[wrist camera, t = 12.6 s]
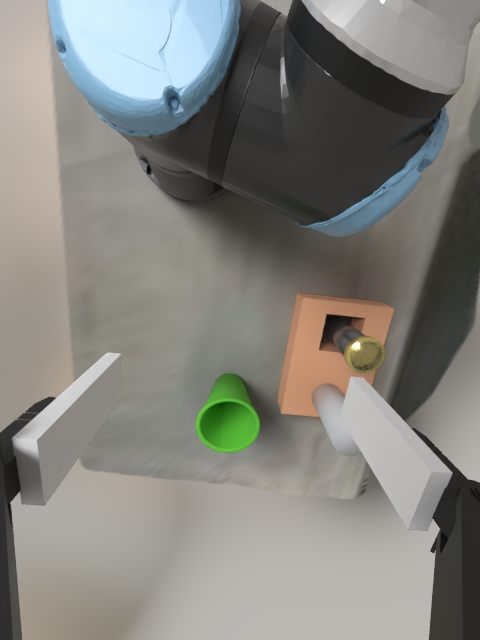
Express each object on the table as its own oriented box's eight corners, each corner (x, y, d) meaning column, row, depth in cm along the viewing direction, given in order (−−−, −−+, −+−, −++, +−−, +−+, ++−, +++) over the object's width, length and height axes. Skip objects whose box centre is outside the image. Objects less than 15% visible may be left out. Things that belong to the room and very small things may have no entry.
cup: (261, 370, 47) (269, 408, 36) (245, 412, 49) (248, 459, 39) (212, 356, 46) (206, 391, 35) (198, 400, 48) (188, 444, 38)
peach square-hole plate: (296, 292, 43) (325, 316, 30) (380, 302, 44) (445, 330, 30) (277, 399, 49) (293, 460, 35) (351, 406, 50) (395, 468, 36)
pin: (321, 310, 44) (352, 336, 33) (349, 314, 44) (389, 340, 33) (315, 338, 45) (343, 371, 34) (342, 340, 46) (379, 375, 34)
